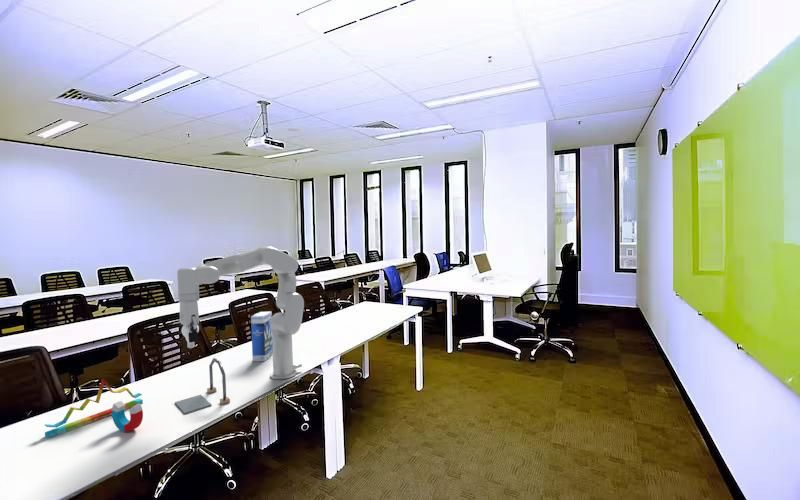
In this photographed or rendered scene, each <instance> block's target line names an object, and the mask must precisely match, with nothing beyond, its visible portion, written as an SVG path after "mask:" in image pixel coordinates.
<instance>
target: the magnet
mask: <svg viewBox="0 0 800 500" xmlns="http://www.w3.org/2000/svg"><path fill="white" fill-rule="evenodd" d="M111 408H112V415H111V418H112V421H113V424H114V425H115V427H116V428H117V429H118V430H120V431H121V432H123V433H129V432H132V431H133V430H135V429H137V428H139V427H140V426H141V424H142V423H143V419H144V418H143V417H144V413H143V407H142V404H138V405H135V406H133V407H132V408H130V409H128V412H129V415H130V417H129V418H130V419H128V418H127V416H126V414H125V410H124V408H125V403H124V402H123V401H122V400H119V401H117V402H114V403H113V404H112V407H111Z"/></svg>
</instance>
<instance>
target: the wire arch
mask: <svg viewBox="0 0 800 500" xmlns="http://www.w3.org/2000/svg"><path fill="white" fill-rule="evenodd" d="M214 363H216V364H217V366H218V368H219V371H220V374H221V376H222V377H221V378H222V398H219V403H220V404H221V405H226V404H230V403H231V399H230V398H229V397H228V396H227V383H226V382H227V381H226V373H225V370H224V367H223V365H222V362H221V361H220V360H219V359H217V358H215V357H214V358H212V360H211V362H209V366H208V367H209V368H208V369H209V387H207V388H206V392H207V393H208V394H214V393H216V392H217V387H215V386H214V379H213V378H214V376H213V365H214Z"/></svg>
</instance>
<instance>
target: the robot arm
mask: <svg viewBox="0 0 800 500" xmlns="http://www.w3.org/2000/svg"><path fill="white" fill-rule="evenodd" d="M263 265H267V266H268V265H269V266H270V267H271V269H272V270H273V272H275V274H276V275H277V279H278V289H277V293H276V294H277V295H276V300H275V305H276V307H277V309H280V310H283V311H284V312H281V311H280V312H276V313H274V314H272V318H271V320H270V328H271V333H272V344H273V345H272V346H273V355H272V362H273V363H272V366H273V367H272V369H273V370H272V371H271V372H270V374H269V375H270V378H271V379H272V380H286V379H290V378H292V377H295V376H296V374H297V369H298V368H301V367H303V365H302V363H301V362H300V363H294V357H293V356H294V355H293V353H294V352H293V336H292V335H296V334H297V333H298V332H299V330H300V328H301V326H302V322H303V315H304V314H303V313H304V308H305V300H304V298H303V296H302V294H300V293H298V292H296V291H297V289H296V288H297V277H296V276H297V275H296V272H297V271H298V268H299V262H298V260H297V259H296V258H295V257H293V256H292V255H290V254H287V253H285V252H283V251H281V250H279V248H278V249H277V248H275V247H273V246H258V247H254V248H252V249H249V250H246V251H243V252H240V253H237V254H234V255H230V256H226V257H223V258H219V259H216V260H213V261H210V262H206V263H203V264H201V265H198V266H196V267H182V268H179V269H178V270H177V272H176V274H177V275H176V276H177V292H178V293H177V294H178V295H177V296H178V298H177V299H178V303H179V324H181V325H182V326H183V325H184V326H189V332H190V333H189V342H198V340H199V337H198V336H199V334H198V333H199V331H198V330H197V326H198V327H199V322H200V320H199V319H200V316H199V304H198V301H200V284H201V285H204V284H205V285H210V284H211V285H212V284H214V283H216V282H218V281H219V280H220V278H221V276H224V275H230V274H240V273H244V272H246V271H249V270H252V269H255V268H257V267H261V266H263ZM192 323H193V324H192ZM190 324H192V325H190ZM192 326H193V327H192ZM191 327H192V328H191ZM183 339H184V340H186V338H185V337H184V336H183Z"/></svg>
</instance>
